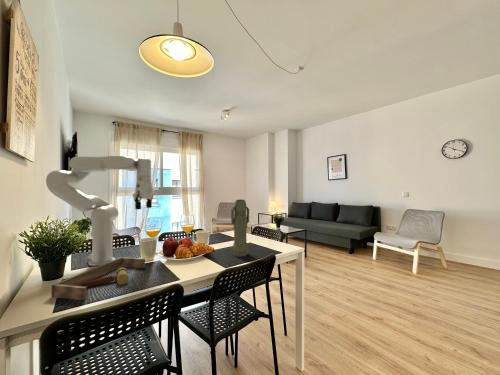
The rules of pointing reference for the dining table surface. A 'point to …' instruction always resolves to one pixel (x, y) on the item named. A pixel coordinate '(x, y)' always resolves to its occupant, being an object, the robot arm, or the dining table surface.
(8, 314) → the dining table surface
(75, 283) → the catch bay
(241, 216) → the tall olive-grey vase
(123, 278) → the gavel
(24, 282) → the dining table surface
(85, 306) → the dining table surface
